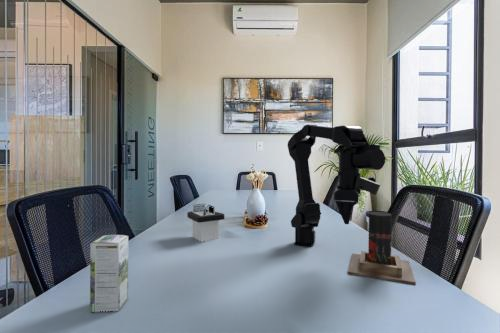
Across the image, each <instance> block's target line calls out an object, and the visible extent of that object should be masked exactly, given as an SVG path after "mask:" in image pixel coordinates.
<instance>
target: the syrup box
mask: <svg viewBox="0 0 500 333" xmlns="http://www.w3.org/2000/svg"><path fill="white" fill-rule="evenodd" d="M89 245H90V248H89V250H90V252H89V254H90V255H89V256H90V257H89V264H90V265H89V266H90V268H89V269H90V270H89V274H90V275H89V284H90V286H89V287H90V288H89V291H90V292H89V303H90V304H89V312H90V313H91V312H94V313H110V311H113V312H120V310H121V308H122V307H123V306H124V304H125V303H126V301H127V300H128V298H129V235H125V234H108V235H107V234H105V235H102V236H101V237H99V238H97V239H96V240H94V241H92V242H91V243H90V244H89ZM100 311H101V312H100ZM102 311H103V312H102ZM105 311H106V312H105ZM108 311H109V312H108Z"/></svg>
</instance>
